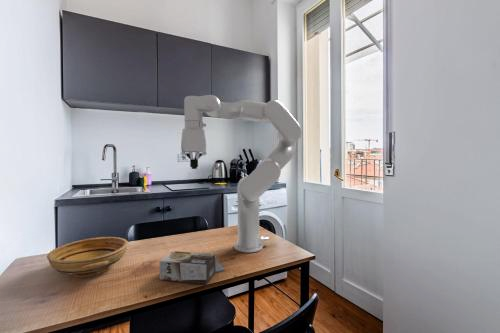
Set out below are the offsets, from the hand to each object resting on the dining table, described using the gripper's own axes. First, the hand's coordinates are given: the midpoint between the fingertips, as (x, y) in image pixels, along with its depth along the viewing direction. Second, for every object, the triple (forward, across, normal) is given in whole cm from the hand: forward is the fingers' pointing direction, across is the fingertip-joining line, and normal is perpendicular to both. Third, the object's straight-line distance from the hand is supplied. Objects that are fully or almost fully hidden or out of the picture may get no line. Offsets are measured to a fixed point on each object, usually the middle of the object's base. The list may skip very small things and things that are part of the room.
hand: (194, 168), depth 107 cm
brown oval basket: (+35, +38, +4) cm, 52 cm away
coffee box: (+32, +14, +20) cm, 40 cm away
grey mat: (+35, +4, +18) cm, 40 cm away
